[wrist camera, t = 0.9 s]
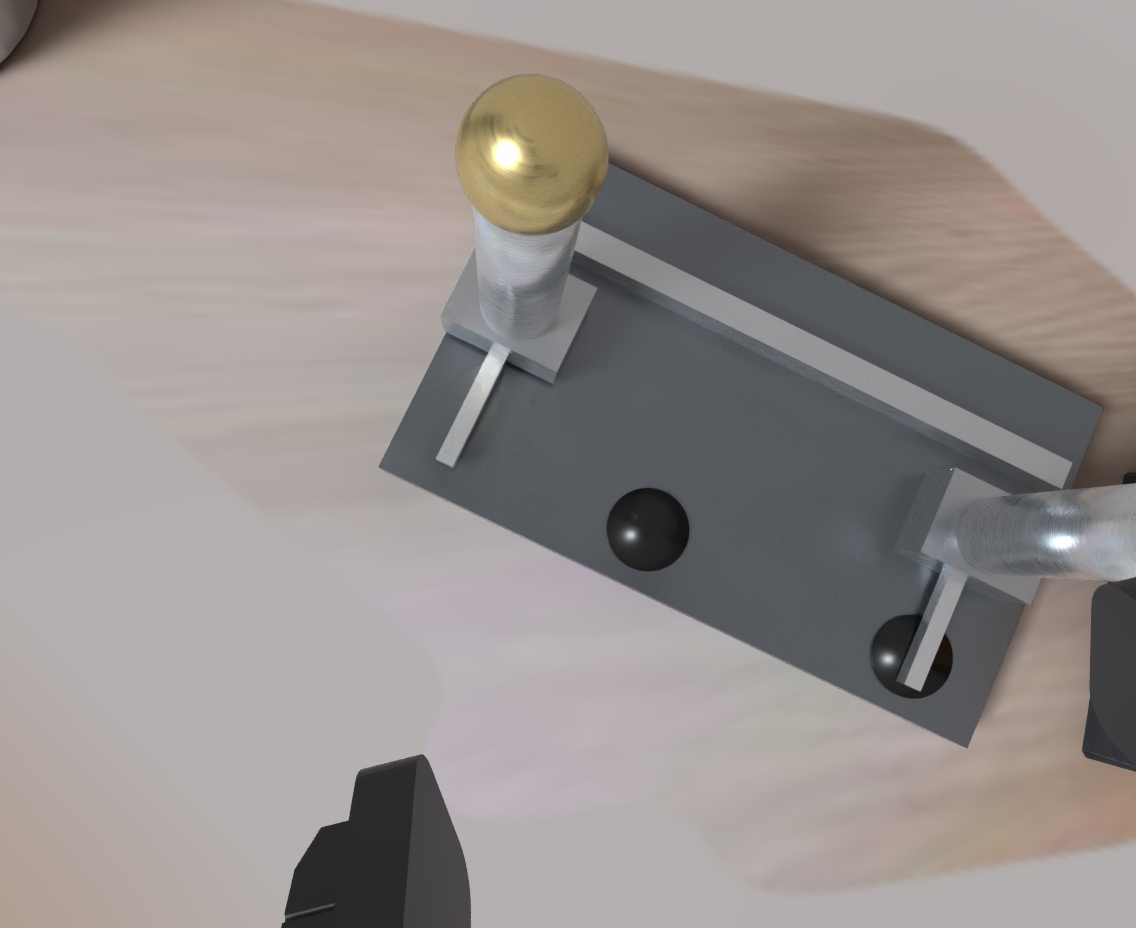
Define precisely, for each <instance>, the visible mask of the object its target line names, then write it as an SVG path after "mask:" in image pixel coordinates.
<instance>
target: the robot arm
mask: <svg viewBox="0 0 1136 928" xmlns="http://www.w3.org/2000/svg"><path fill="white" fill-rule="evenodd" d="M37 3H38V0H0V63H1V62H2V61H3V60H4V59H5V58H6V57H8V56H9V55H10V53H11V52H12V51H13V49H14V48H15V47H16V45H17V44H18V43H19V41H20V40H21V39H22V37H23V36H24V35H25V33H26V31H27V29H28V26H29V24H30V22H31V20H32V18H33V15H34V13H35V11H36V7H37ZM1090 697H1091V701H1092V705H1093V708H1094V711H1095V714H1096V716H1097V718H1098V720H1099V722H1100V724H1101V726H1102V728H1103V729H1104V731H1105V733H1106V734H1107V736H1108V737H1109V738H1110V739H1111V741H1112V742H1113V743H1114V744H1115V745H1116V746H1117V747H1118V748H1119V749H1120V750H1121V751H1122V752H1123V753H1124V754H1125V755H1126V756H1127V757H1128V758H1129V759H1130V760H1131V762H1132V763H1133V764H1134V765H1135V766H1136V577H1133V578H1129V579H1125V580H1121V581H1117V582H1113V583H1109V584H1105V585H1102V586H1100V587H1098V588H1097V589H1096V591H1095V592H1094V594H1093V598H1092V610H1091V650H1090ZM470 901H471V899H470V887H469V880H468V873H467V868H466V863H465V859H464V855H463V851H462V848H461V845H460V842H459V840H458V837H457V834H456V831H455V829H454V826H453V824H452V821H451V818H450V816H449V813H448V810H447V808H446V805H445V803H444V800H443V797H442V795H441V792H440V789H439V787H438V784H437V782H436V779H435V776H434V774H433V771H432V768H431V766H430V764H429V762H428V760H427V758H426V757H425V756H424V755H422V754H421V755H417V756H413V757H409V758H405V759H401V760H398V761H393V762H389V763H385V764H381V765H377V766H373V767H370V768H365V769H362V770H360V771H359V773H358V774H357V777H356V781H355V787H354V792H353V798H352V804H351V810H350V816H349V821H346V822H341V823H337V824H333V825H329V826H325V827H322V828H321V829H320V830H319V832H318V833H317V835H316V837H315V838H314V840H313V841H312V843H311V845H310V846H309V848H308V849H307V851H306V852H305V854H304V856H303V857H302V859H301V860H300V862H299V863H298V865H297V867H296V868H295V870H294V875H293V879H292V883H291V888H290V892H289V896H288V901H287V905H286V909H285V923H282V927H281V928H471V902H470Z"/></svg>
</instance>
